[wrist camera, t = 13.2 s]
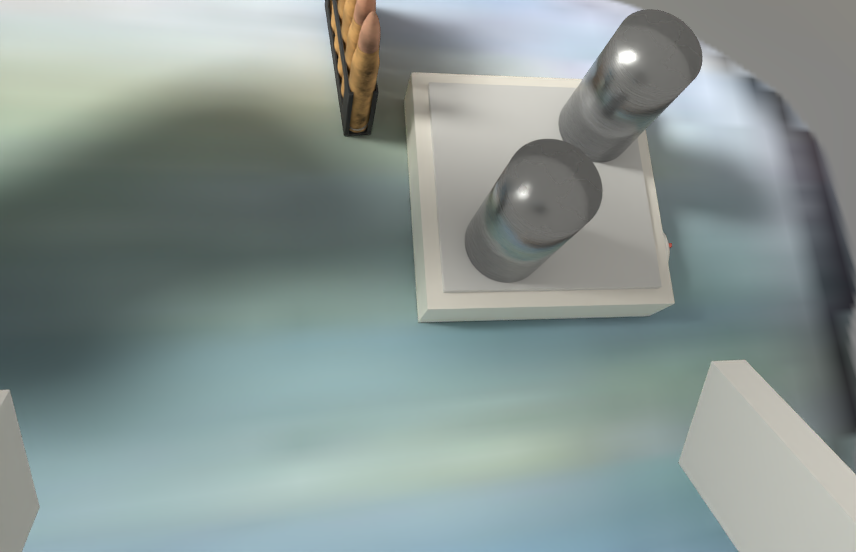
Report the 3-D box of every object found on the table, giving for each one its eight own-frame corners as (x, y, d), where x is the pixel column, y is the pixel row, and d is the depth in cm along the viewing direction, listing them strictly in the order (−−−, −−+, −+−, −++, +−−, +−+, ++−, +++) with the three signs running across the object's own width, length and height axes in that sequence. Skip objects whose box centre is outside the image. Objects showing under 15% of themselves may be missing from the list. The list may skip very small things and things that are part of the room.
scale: (418, 322, 45) (429, 307, 41) (403, 99, 49) (412, 68, 46) (657, 316, 48) (687, 301, 44) (623, 107, 53) (648, 77, 49)
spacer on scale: (563, 162, 46) (623, 87, 37) (554, 93, 47) (610, 6, 39) (634, 163, 47) (709, 90, 38) (623, 96, 48) (693, 12, 40)
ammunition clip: (324, 2, 51) (332, -137, 39) (350, 2, 51) (365, -136, 40) (344, 136, 48) (358, 28, 37) (371, 135, 48) (393, 27, 37)
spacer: (468, 283, 42) (511, 232, 34) (461, 205, 44) (501, 137, 35) (547, 282, 43) (608, 231, 35) (538, 206, 44) (595, 139, 36)
